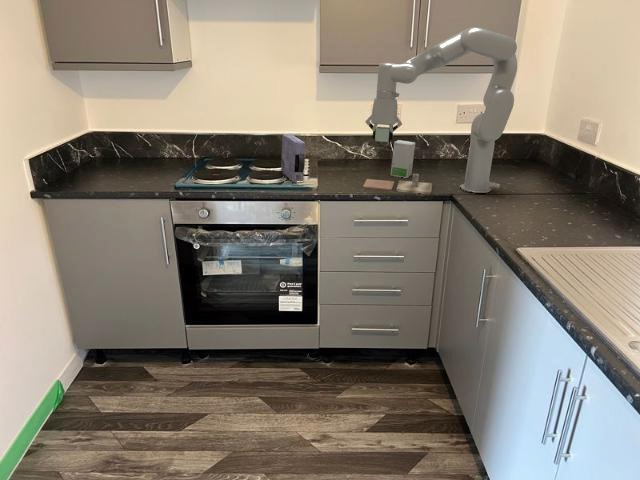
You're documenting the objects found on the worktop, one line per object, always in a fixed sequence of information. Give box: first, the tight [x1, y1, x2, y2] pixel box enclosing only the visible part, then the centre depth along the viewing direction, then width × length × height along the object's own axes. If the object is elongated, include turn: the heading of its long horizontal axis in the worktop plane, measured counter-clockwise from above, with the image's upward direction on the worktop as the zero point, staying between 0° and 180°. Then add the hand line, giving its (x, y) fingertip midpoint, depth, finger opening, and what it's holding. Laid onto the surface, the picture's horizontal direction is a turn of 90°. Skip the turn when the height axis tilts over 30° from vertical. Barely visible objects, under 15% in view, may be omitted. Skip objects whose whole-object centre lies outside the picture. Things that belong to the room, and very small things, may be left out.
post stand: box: [395, 173, 433, 196], centre depth 207 cm, size 14×14×6 cm
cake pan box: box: [280, 133, 306, 183], centre depth 215 cm, size 19×5×18 cm, turn 22°
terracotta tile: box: [362, 178, 395, 191], centre depth 211 cm, size 12×12×1 cm
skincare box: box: [390, 139, 416, 179], centre depth 224 cm, size 8×7×16 cm
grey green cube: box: [374, 126, 390, 143], centre depth 203 cm, size 5×5×5 cm
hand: (382, 140), depth 204 cm, fingers closed on grey green cube, 5 cm apart
